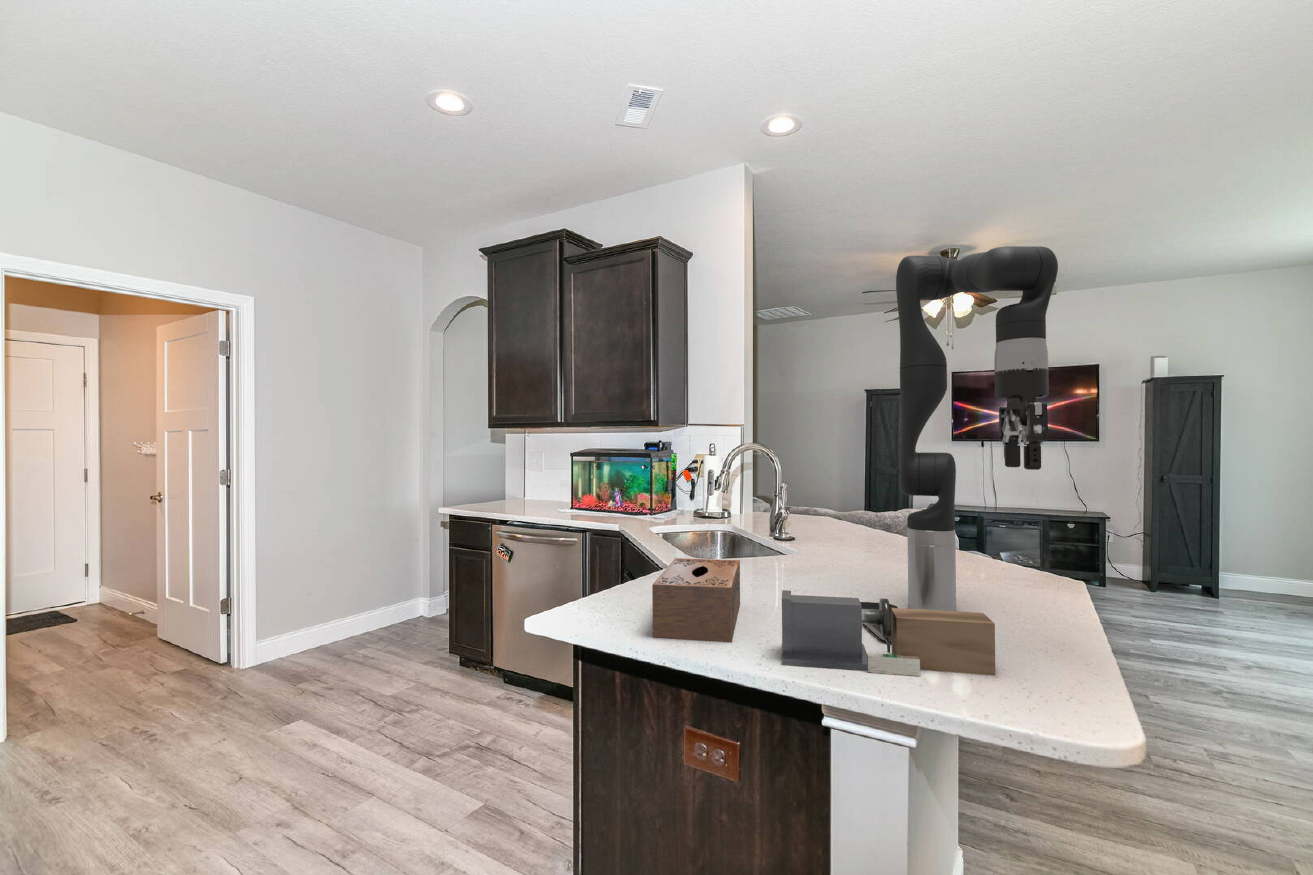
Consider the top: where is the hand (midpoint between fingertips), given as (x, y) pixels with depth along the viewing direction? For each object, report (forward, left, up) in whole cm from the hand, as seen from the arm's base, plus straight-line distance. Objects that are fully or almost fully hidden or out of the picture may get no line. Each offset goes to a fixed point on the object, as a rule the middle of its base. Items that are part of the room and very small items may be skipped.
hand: (1022, 468), depth 98 cm
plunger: (+6, -28, -28) cm, 40 cm away
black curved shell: (-12, -19, -32) cm, 39 cm away
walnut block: (+5, -14, -31) cm, 35 cm away
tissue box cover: (-12, -55, -32) cm, 64 cm away
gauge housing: (+5, -28, -31) cm, 42 cm away
